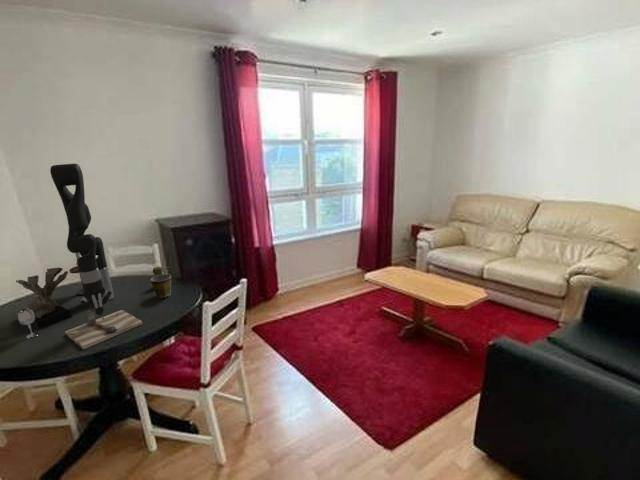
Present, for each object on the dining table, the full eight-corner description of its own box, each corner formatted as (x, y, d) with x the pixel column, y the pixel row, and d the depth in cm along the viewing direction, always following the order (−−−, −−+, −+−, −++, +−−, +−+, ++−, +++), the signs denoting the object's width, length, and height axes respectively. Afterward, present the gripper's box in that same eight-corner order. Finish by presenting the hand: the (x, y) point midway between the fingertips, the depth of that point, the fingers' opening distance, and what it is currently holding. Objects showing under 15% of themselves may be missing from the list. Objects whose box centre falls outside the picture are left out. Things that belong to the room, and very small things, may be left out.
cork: (162, 288, 202) (158, 269, 199) (152, 287, 204) (148, 269, 201) (168, 283, 208) (165, 265, 205) (159, 283, 209) (155, 265, 206)
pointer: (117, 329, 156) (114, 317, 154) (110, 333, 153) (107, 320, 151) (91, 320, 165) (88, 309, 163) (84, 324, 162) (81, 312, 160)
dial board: (65, 334, 158) (64, 331, 157) (122, 312, 175) (121, 309, 175) (83, 349, 145) (82, 345, 145) (142, 324, 163) (142, 320, 163)
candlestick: (93, 286, 210) (78, 228, 200) (101, 290, 203) (87, 230, 193) (72, 293, 201) (56, 232, 191) (80, 297, 195) (64, 235, 185)
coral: (17, 317, 177) (4, 276, 171) (64, 300, 192) (54, 262, 186) (36, 330, 163) (23, 286, 157) (85, 311, 178) (75, 271, 172)
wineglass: (30, 332, 161) (22, 308, 157) (43, 331, 161) (36, 307, 158) (20, 339, 155) (12, 314, 152) (35, 338, 156) (27, 313, 152)
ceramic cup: (178, 293, 194) (175, 276, 191) (161, 300, 186) (158, 282, 183) (163, 289, 201) (160, 272, 198) (146, 296, 193) (143, 278, 190)
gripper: (104, 272, 165) (112, 306, 171) (71, 281, 156) (81, 317, 162) (110, 276, 161) (118, 311, 166) (76, 286, 151) (86, 323, 157)
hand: (100, 314), depth 164 cm, fingers closed
